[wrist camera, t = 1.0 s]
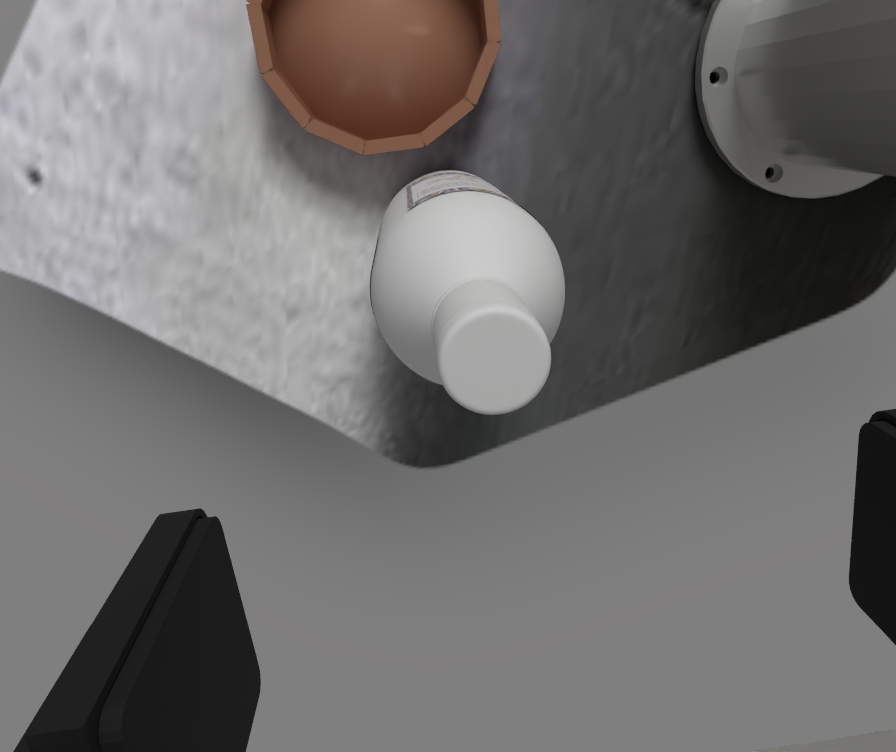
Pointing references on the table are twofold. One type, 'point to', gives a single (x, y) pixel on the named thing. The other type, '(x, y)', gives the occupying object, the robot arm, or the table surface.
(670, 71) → the table surface
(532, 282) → the bath foam
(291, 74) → the ring dish
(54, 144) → the table surface
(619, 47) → the table surface
